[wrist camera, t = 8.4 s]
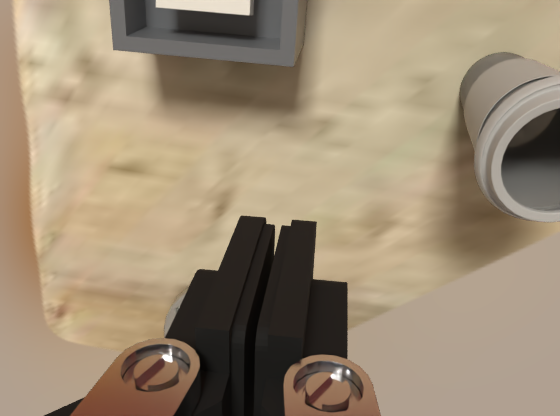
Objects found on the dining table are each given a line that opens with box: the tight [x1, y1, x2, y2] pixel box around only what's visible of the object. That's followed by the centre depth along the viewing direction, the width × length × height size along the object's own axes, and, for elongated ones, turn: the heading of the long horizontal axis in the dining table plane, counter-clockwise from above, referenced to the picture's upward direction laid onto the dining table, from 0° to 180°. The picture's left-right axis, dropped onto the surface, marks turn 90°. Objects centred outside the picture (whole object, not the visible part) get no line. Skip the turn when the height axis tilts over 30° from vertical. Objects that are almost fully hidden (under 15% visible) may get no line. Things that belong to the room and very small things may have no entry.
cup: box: [460, 52, 560, 222], centre depth 29 cm, size 7×7×12 cm
